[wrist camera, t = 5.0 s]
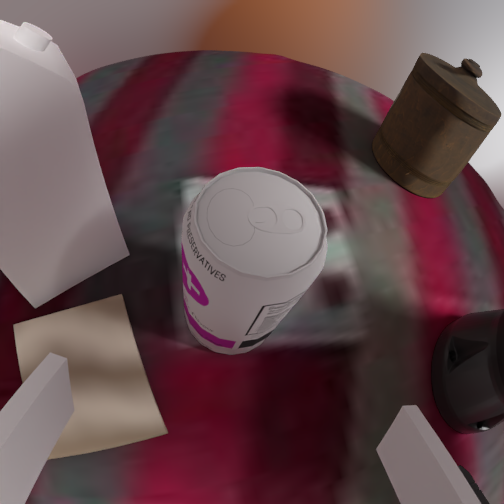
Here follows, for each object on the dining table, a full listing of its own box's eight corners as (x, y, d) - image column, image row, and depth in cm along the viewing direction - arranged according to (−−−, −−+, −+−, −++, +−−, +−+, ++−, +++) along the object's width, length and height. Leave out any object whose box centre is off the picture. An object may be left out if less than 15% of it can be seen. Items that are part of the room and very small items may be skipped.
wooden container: (421, 142, 52) (476, 55, 33) (455, 203, 45) (531, 111, 26) (359, 128, 49) (411, 21, 30) (390, 194, 42) (473, 72, 23)
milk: (10, 223, 29) (-76, 27, 7) (90, 180, 34) (55, -35, 12) (35, 308, 25) (-126, 81, 3) (129, 254, 30) (84, -31, 8)
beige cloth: (168, 432, 22) (167, 433, 22) (48, 459, 18) (44, 459, 18) (123, 297, 28) (121, 293, 27) (16, 327, 23) (13, 324, 23)
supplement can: (183, 355, 26) (176, 286, 13) (186, 271, 30) (189, 154, 17) (275, 356, 27) (349, 291, 15) (269, 274, 32) (322, 167, 19)
